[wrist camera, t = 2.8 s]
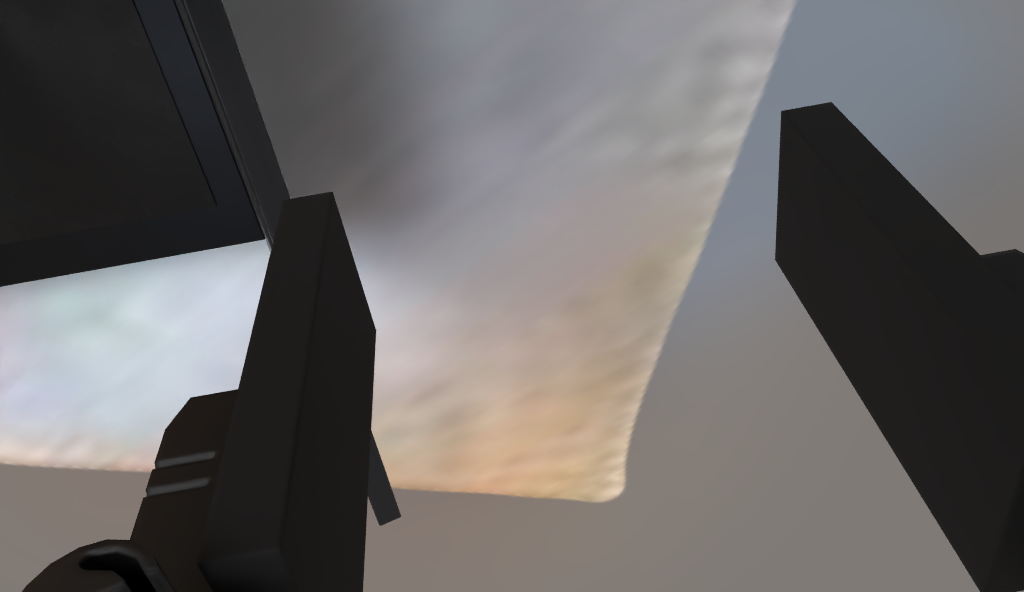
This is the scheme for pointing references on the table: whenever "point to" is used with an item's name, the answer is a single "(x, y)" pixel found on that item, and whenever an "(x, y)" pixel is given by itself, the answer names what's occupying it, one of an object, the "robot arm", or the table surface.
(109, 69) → the laptop
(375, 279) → the table surface
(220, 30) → the laptop screen
